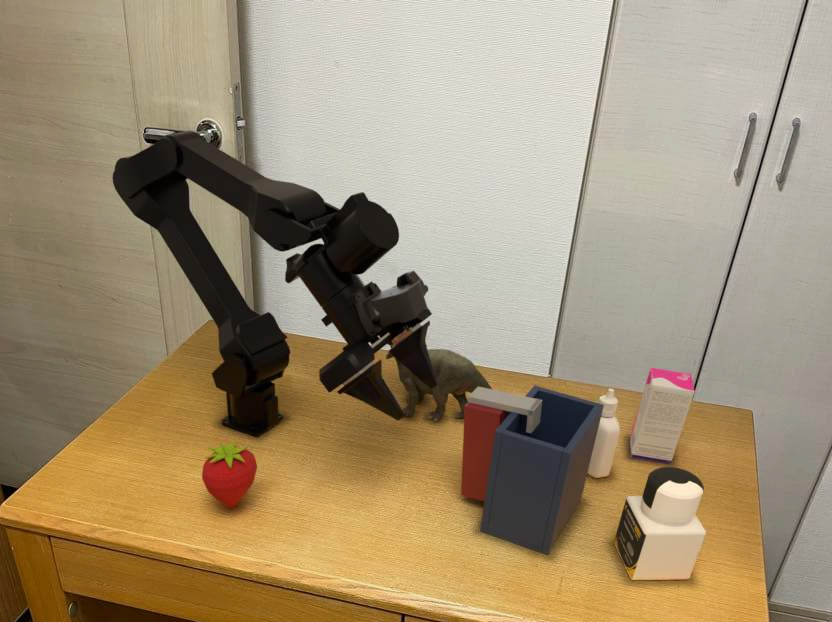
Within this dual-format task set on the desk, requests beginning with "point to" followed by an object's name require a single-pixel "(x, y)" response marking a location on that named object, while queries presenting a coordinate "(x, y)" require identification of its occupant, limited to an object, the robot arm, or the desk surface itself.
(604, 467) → the eye dropper bottle
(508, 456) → the storage box
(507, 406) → the red post with hook
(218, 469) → the strawberry
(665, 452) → the supplement box
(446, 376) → the toy dinosaur
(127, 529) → the desk surface
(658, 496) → the medicine bottle
